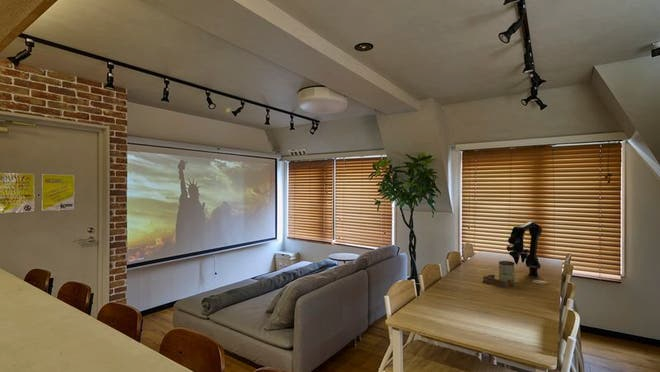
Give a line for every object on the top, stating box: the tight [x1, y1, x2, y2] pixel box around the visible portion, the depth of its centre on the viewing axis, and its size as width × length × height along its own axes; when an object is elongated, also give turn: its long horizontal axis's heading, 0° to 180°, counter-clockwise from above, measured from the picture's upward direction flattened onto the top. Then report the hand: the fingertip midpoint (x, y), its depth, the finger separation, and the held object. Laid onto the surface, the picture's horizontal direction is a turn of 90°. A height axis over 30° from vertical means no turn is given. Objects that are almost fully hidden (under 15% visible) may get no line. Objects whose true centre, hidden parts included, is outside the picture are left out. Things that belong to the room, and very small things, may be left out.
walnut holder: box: [482, 273, 515, 288], centre depth 235 cm, size 11×16×4 cm
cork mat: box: [531, 279, 549, 286], centre depth 234 cm, size 10×10×1 cm
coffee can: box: [498, 260, 516, 283], centre depth 239 cm, size 10×10×14 cm
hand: (519, 263), depth 244 cm, fingers open, 9 cm apart
